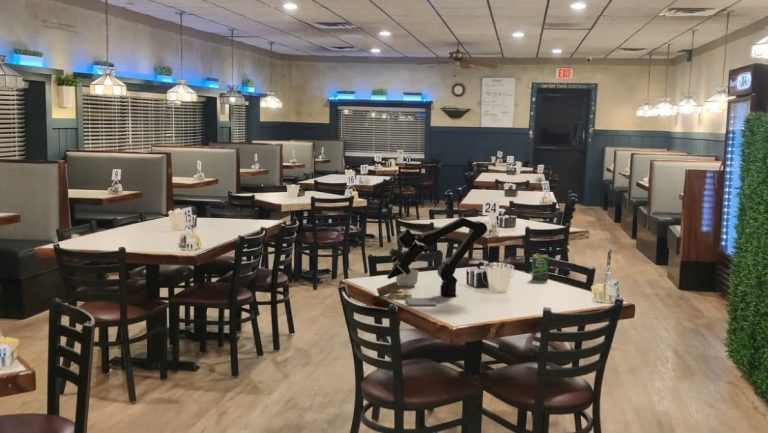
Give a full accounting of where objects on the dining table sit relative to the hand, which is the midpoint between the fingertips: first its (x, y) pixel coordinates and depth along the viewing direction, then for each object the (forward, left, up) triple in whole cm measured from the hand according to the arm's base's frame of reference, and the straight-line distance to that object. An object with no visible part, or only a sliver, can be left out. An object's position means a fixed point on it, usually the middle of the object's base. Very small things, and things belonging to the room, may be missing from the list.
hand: (387, 278), depth 342 cm
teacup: (-11, -22, -9) cm, 26 cm away
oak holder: (-6, 0, -9) cm, 11 cm away
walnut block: (0, 0, -5) cm, 5 cm away
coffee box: (-83, -40, -9) cm, 92 cm away
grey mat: (-14, +13, -9) cm, 21 cm away
